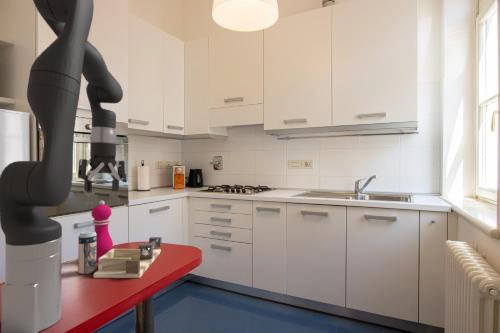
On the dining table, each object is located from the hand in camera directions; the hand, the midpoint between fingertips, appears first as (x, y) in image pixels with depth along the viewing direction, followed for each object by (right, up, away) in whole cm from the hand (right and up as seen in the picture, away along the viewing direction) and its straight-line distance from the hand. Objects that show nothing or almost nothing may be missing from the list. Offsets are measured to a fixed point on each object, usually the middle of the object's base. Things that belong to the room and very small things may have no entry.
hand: (102, 191), depth 93 cm
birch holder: (+9, -23, 0) cm, 25 cm away
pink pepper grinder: (-2, -23, +4) cm, 24 cm away
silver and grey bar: (+13, -22, +7) cm, 26 cm away
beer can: (-1, -24, -7) cm, 25 cm away
